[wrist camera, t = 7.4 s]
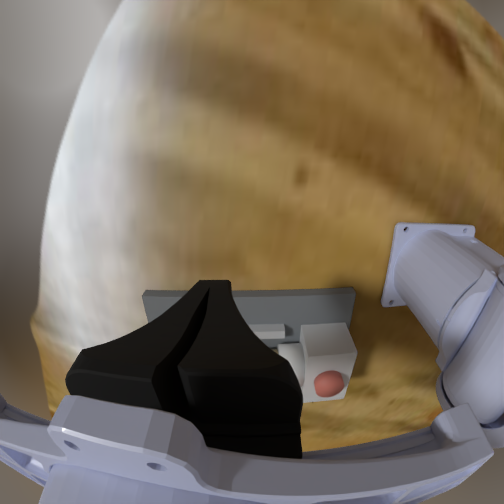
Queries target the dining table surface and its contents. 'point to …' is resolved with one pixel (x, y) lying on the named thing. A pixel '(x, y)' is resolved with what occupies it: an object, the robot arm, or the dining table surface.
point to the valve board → (294, 331)
